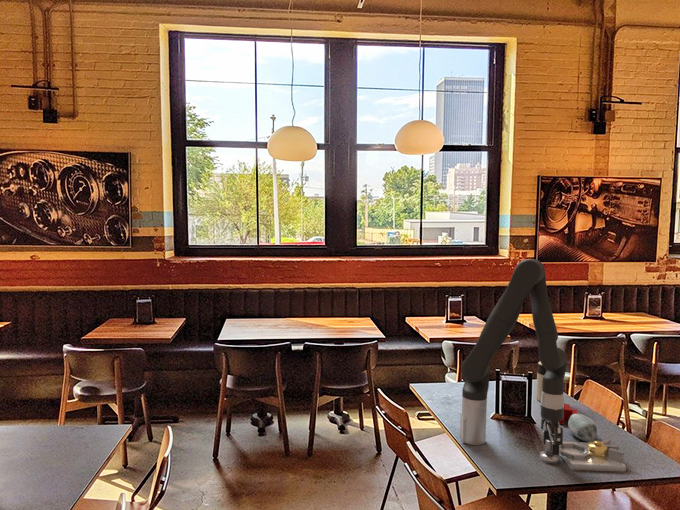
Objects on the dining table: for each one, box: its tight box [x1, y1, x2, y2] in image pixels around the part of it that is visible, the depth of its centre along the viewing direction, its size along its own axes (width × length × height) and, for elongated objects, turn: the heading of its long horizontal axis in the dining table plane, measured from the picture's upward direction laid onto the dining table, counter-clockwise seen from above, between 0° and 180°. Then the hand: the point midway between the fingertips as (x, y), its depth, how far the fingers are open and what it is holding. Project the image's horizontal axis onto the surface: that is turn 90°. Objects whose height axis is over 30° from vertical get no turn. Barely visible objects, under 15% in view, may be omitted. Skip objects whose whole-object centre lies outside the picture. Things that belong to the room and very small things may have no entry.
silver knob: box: [539, 438, 560, 465], centre depth 183 cm, size 6×6×7 cm
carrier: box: [559, 438, 627, 473], centre depth 184 cm, size 21×18×6 cm
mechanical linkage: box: [558, 403, 579, 425], centre depth 221 cm, size 16×7×5 cm, turn 160°
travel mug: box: [535, 360, 546, 403], centre depth 243 cm, size 8×8×18 cm
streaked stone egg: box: [567, 413, 598, 443], centre depth 203 cm, size 14×10×10 cm
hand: (551, 449), depth 183 cm, fingers open, 8 cm apart
